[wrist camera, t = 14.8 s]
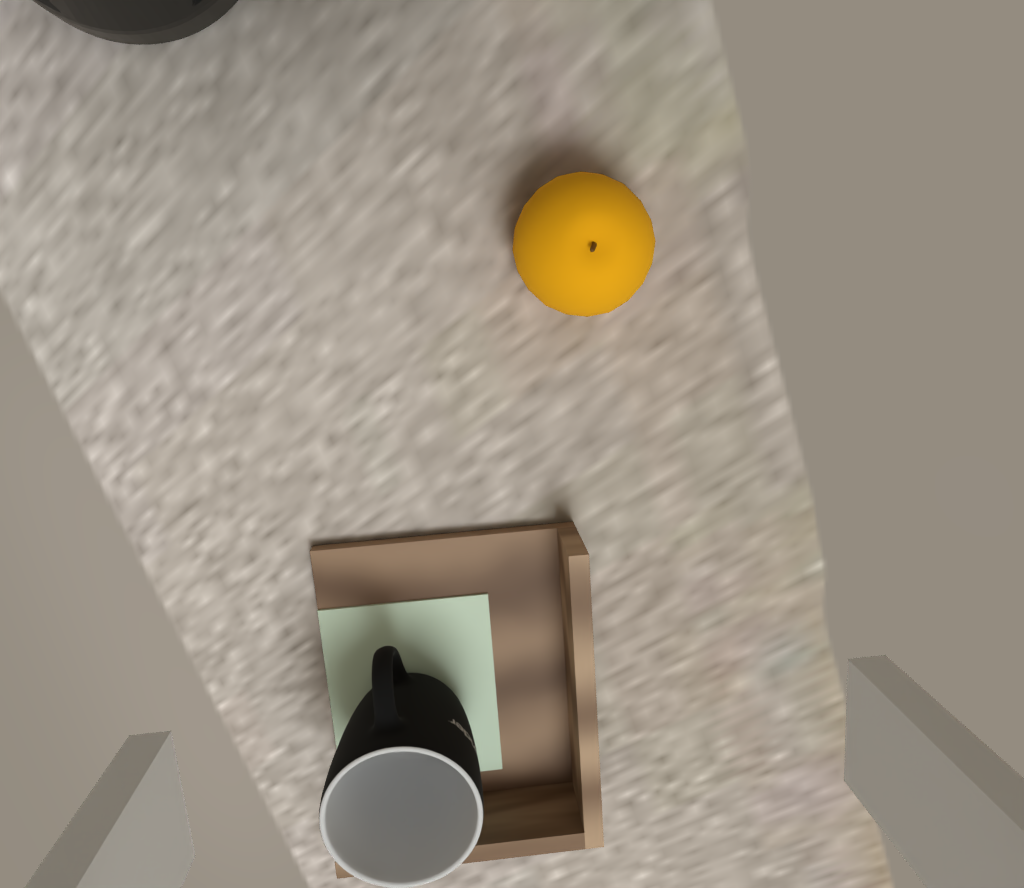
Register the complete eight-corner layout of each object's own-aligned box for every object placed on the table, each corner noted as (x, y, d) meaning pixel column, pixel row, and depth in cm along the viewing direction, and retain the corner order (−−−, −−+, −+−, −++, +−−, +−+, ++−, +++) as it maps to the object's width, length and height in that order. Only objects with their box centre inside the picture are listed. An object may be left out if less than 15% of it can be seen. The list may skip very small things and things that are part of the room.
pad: (317, 609, 50) (317, 610, 49) (487, 593, 50) (487, 594, 50) (342, 785, 53) (341, 787, 52) (502, 767, 53) (502, 769, 53)
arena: (312, 545, 50) (294, 582, 44) (572, 521, 51) (588, 554, 45) (349, 812, 54) (336, 878, 48) (587, 785, 55) (603, 846, 49)
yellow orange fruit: (663, 227, 47) (702, 219, 40) (592, 337, 48) (617, 349, 41) (554, 151, 46) (573, 129, 38) (484, 267, 47) (490, 267, 39)
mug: (488, 759, 53) (496, 872, 43) (358, 784, 52) (337, 903, 43) (457, 600, 50) (459, 681, 40) (320, 625, 50) (288, 713, 40)
